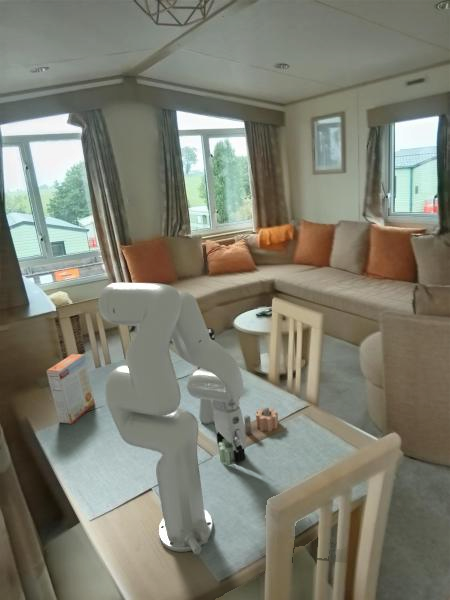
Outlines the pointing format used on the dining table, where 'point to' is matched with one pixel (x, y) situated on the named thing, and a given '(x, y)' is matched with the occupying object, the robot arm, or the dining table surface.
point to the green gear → (227, 451)
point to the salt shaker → (206, 411)
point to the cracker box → (71, 388)
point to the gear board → (258, 430)
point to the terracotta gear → (267, 420)
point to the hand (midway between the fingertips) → (231, 452)
